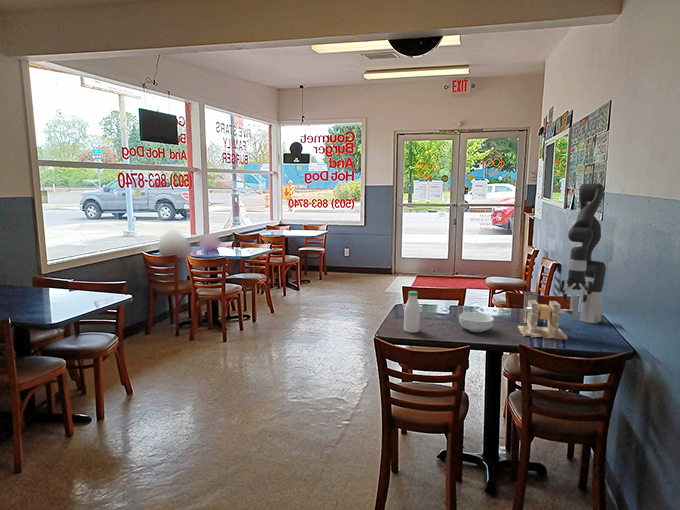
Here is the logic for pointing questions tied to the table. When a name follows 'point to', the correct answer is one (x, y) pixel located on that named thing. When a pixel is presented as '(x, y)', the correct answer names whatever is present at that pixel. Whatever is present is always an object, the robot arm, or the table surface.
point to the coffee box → (527, 297)
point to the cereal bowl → (476, 321)
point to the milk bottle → (412, 313)
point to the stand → (545, 332)
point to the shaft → (572, 311)
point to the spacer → (544, 311)
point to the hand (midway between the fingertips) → (574, 301)
